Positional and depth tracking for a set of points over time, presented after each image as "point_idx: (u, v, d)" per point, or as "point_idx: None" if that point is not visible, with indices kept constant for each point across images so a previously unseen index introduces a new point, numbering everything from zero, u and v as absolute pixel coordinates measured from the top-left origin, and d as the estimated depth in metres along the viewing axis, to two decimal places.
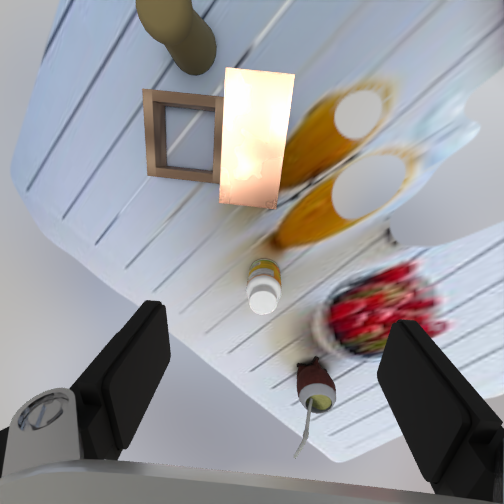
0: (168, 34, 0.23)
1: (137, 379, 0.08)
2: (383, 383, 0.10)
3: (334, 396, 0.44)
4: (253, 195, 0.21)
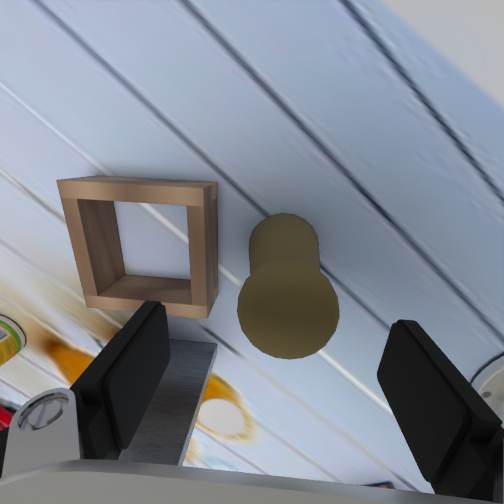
0: (242, 327, 0.12)
1: (137, 379, 0.08)
2: (383, 383, 0.10)
3: None
4: None
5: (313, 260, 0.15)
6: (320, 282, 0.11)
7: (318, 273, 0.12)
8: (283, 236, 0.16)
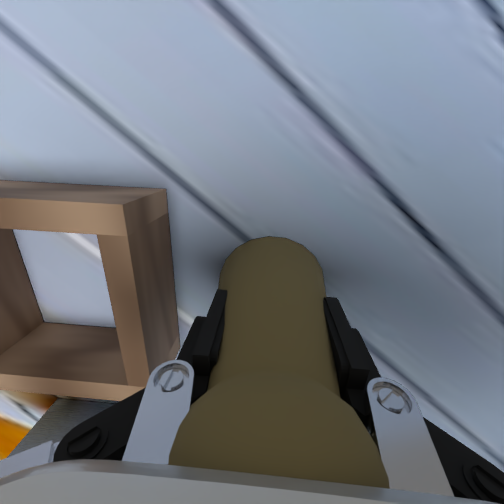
0: None
1: None
2: None
3: None
4: None
5: (324, 344, 0.08)
6: (359, 483, 0.04)
7: (349, 441, 0.05)
8: (267, 289, 0.09)
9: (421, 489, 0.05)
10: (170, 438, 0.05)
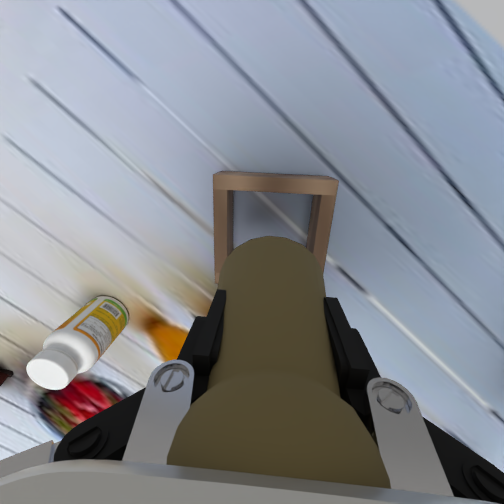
0: None
1: None
2: None
3: None
4: None
5: (324, 344, 0.08)
6: (360, 483, 0.04)
7: (350, 441, 0.05)
8: (267, 288, 0.09)
9: (420, 488, 0.05)
10: (170, 438, 0.05)
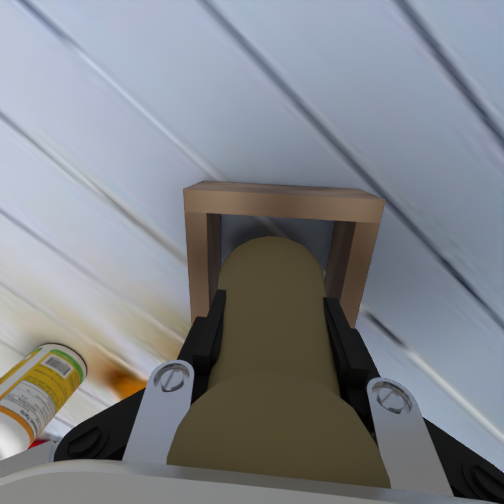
0: None
1: None
2: None
3: None
4: None
5: (324, 344, 0.08)
6: (360, 484, 0.04)
7: (350, 441, 0.05)
8: (267, 289, 0.09)
9: (421, 489, 0.05)
10: (170, 438, 0.05)
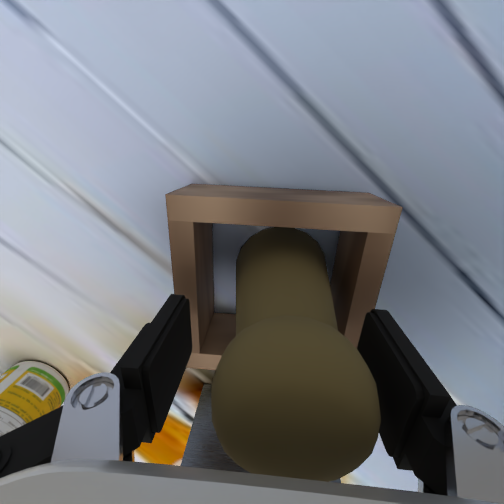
0: None
1: (168, 367, 0.08)
2: None
3: None
4: None
5: (326, 303, 0.10)
6: (350, 369, 0.06)
7: (343, 348, 0.07)
8: (280, 265, 0.12)
9: None
10: (101, 451, 0.05)
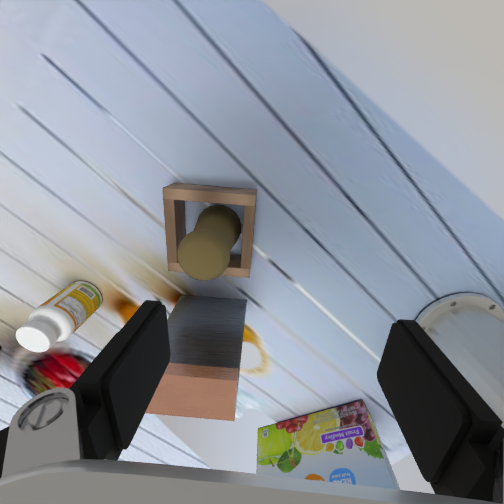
0: (179, 264, 0.24)
1: (137, 379, 0.08)
2: (383, 383, 0.10)
3: None
4: None
5: (224, 231, 0.27)
6: (215, 238, 0.23)
7: (216, 234, 0.24)
8: (210, 218, 0.28)
9: None
10: None
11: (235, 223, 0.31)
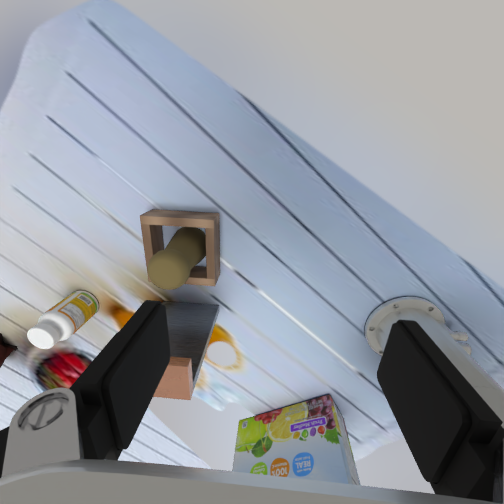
0: (149, 277, 0.31)
1: (137, 379, 0.08)
2: (383, 383, 0.10)
3: None
4: None
5: (188, 249, 0.33)
6: (175, 257, 0.30)
7: (176, 254, 0.30)
8: (178, 238, 0.35)
9: None
10: None
11: (201, 241, 0.37)
